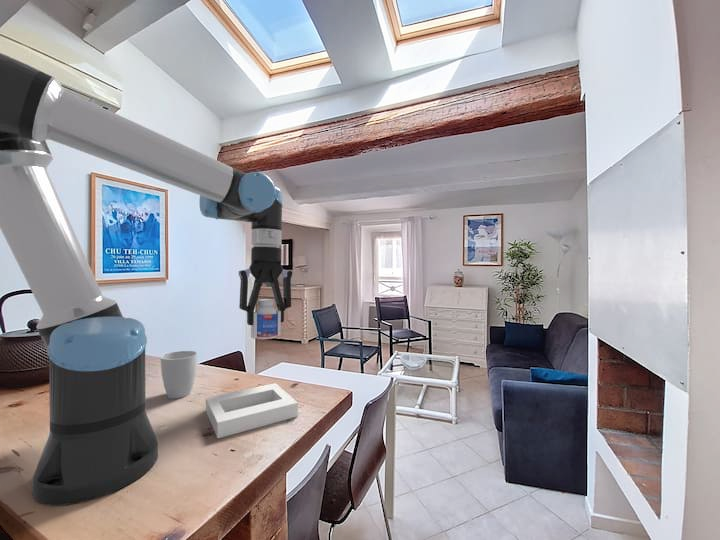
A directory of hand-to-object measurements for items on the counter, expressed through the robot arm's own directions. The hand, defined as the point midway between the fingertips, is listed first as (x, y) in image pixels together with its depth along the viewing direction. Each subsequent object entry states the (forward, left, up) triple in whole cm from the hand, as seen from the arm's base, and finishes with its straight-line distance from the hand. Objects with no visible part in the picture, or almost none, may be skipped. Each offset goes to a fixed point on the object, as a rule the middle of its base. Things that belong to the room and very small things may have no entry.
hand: (265, 336), depth 83 cm
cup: (-19, +10, -15) cm, 26 cm away
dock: (-7, -8, -14) cm, 18 cm away
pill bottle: (0, 0, -1) cm, 1 cm away
